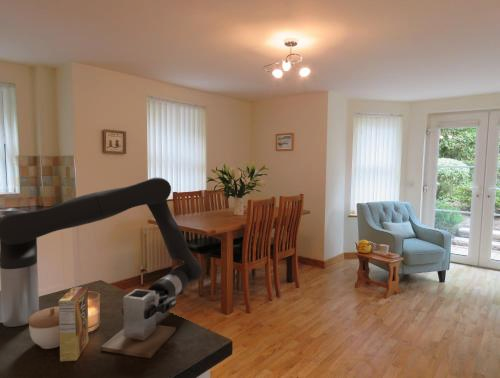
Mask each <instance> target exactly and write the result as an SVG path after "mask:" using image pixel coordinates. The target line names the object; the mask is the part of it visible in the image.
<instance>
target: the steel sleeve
mask: <svg viewBox="0 0 500 378" xmlns="http://www.w3.org/2000/svg"><path fill="white" fill-rule="evenodd" d="M155 302H156V300H155V291H153V290H148V289H144V288H143V289H141V288H135V289H133V290H131V292H129V293H127V294H126V295H124V296H123V297H122V306H123V307H122V308H123V314H122V316H123V329H124V337H126V338H133V339H139V340H145V339H146V338H147V337H148V336H149V335H150V334H151V333H152V332H153V331H154V330H155V329H156V325H157V315H156V314H154V315H153V316H152V317H150V318H149V319H145V311H146V310H147V309H148V308H150V307H151V306H152V305H153V306H154V303H155Z"/></svg>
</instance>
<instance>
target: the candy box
mask: <svg viewBox="0 0 500 378" xmlns="http://www.w3.org/2000/svg"><path fill="white" fill-rule="evenodd" d="M88 293H89V291H88V286H79V287H78V286H77V287H74V286H73V287H71V288H70V289H69V290H68V291H67V292H66V293H65V294H64V295H63V296H62V297H61V298H60V299H59V300H58V306H59V331H60V346H59V361H60V362H61V363H62V362H72V361H73V362H74V361H78V359H79V357H80V356H81V354H82V353H83V351H84V349H85V348H86V346H88V345H87V344H88V343H89V297H88V296H89V294H88Z"/></svg>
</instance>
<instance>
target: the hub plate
mask: <svg viewBox="0 0 500 378" xmlns="http://www.w3.org/2000/svg"><path fill="white" fill-rule="evenodd" d="M176 329H177V328H176V327H175V326H167V325H160V324H156V329H155V330H154V331H153V332H152V333H151V334H150V335H149V336H148V337H147V338H146V339H145V340H139V339H133V338H126V337H124V328H122V329H121V330H120V331H118V332H117V333H116V334H115V335H113V336H112V337H111V338H110V339H109V340H108V341H105V342H104V343H103V344H102V345H101V346H100V351H103V352H109V353H115V354H121V355H126V356H134V357H140V358H144V359H145V358H146V359H151V358H152V357H153V356H154V355H155V354H156V352H158V350H160V349H161V347H162V346H163V345H164V344H165V343H166V342H167V341H168V340H169V339H170V338H171V336H173V334H174V333H175V332H176Z"/></svg>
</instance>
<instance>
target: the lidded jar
mask: <svg viewBox="0 0 500 378" xmlns="http://www.w3.org/2000/svg"><path fill="white" fill-rule="evenodd" d="M27 325H28V329H29V335H30V338H31V340H32V341H33V342H34V344H36V345H38V347H40V348H41V349H44V350H49V349H50V350H51V349H55V348H58V347H60V331H59V305H57V306H51V307H47V308H44V309H40V310H39V311H38V312H36V313H34V314H33V315H31V316H30V318H29V319H28V324H27Z"/></svg>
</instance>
